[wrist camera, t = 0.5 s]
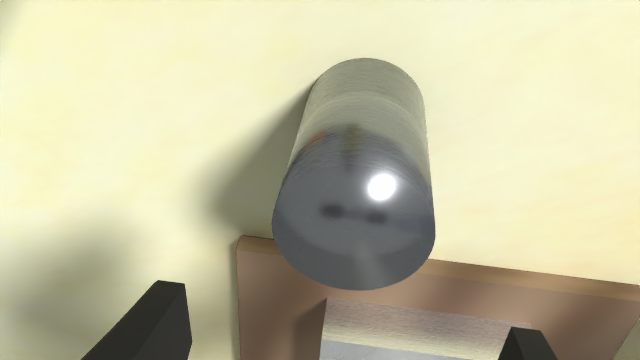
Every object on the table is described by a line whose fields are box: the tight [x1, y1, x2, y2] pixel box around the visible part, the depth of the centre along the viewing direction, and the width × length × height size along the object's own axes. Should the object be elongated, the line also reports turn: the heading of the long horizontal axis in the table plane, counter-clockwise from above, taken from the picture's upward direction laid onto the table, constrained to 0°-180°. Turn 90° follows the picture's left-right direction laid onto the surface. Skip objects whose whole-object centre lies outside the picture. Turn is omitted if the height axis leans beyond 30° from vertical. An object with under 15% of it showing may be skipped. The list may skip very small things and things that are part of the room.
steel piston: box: [272, 58, 435, 291], centre depth 17 cm, size 4×4×7 cm
